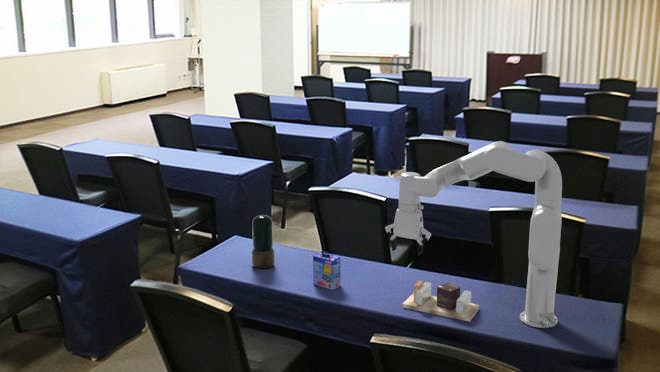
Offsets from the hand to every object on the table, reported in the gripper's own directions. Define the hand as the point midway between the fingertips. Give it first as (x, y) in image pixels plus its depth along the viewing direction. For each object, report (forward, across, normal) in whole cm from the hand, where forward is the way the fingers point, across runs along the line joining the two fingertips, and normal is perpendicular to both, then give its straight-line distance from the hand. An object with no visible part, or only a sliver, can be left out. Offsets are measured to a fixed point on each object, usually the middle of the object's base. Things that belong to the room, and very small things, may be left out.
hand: (406, 252), depth 245 cm
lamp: (+20, +66, -7) cm, 69 cm away
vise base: (+19, -14, 0) cm, 24 cm away
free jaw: (+17, -6, 0) cm, 18 cm away
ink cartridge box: (+20, +32, 0) cm, 38 cm away
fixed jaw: (+17, -22, 0) cm, 28 cm away
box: (+18, -17, 0) cm, 24 cm away
